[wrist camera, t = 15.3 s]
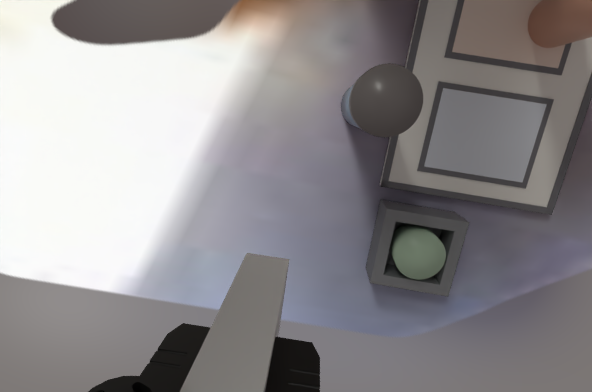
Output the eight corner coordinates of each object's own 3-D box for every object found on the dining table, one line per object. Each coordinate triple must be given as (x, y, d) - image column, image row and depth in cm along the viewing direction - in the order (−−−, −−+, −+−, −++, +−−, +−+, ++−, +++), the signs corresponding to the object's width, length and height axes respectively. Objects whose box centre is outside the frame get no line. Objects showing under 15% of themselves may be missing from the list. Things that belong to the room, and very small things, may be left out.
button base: (380, 199, 35) (386, 208, 31) (454, 212, 34) (469, 222, 31) (365, 267, 36) (370, 283, 33) (436, 279, 36) (448, 296, 33)
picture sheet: (435, -77, 29) (438, -81, 28) (634, -48, 29) (642, -52, 28) (379, 184, 34) (380, 186, 34) (547, 212, 34) (552, 214, 33)
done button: (394, 219, 34) (400, 228, 31) (440, 227, 34) (451, 237, 31) (384, 262, 35) (389, 274, 32) (429, 270, 35) (438, 283, 32)
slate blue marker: (344, 78, 32) (358, 58, 21) (390, 85, 32) (430, 69, 21) (336, 124, 33) (344, 131, 22) (380, 132, 33) (413, 142, 22)
